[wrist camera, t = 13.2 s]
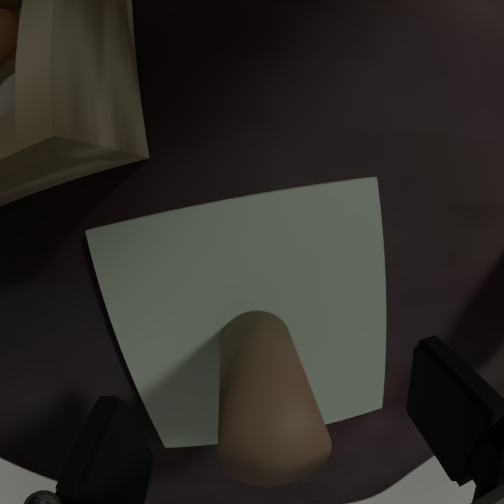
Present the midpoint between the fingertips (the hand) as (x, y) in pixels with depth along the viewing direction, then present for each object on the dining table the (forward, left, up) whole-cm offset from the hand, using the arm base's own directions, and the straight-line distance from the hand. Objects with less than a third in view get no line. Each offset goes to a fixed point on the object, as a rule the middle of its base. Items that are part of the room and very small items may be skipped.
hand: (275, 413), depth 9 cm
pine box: (-14, -9, -6) cm, 18 cm away
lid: (0, 0, -7) cm, 7 cm away
